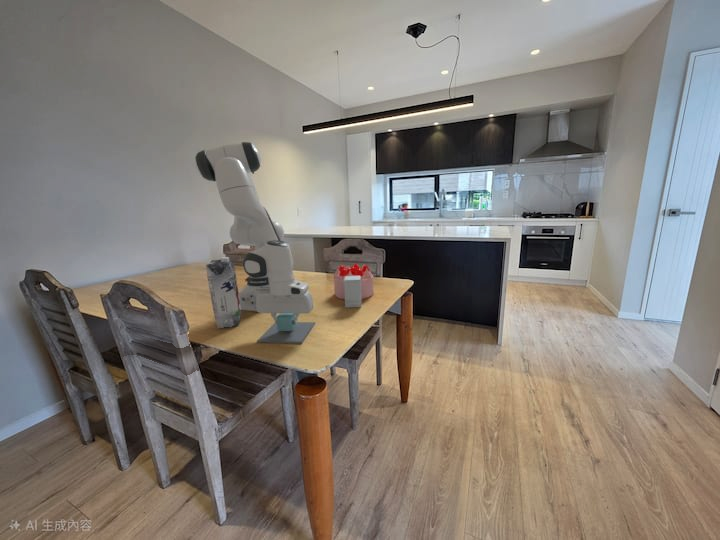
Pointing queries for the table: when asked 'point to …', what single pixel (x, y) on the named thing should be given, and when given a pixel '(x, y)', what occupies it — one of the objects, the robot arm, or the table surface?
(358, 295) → the supplement box
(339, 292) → the cake
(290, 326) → the teal cube
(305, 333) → the charcoal mat
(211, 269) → the juice carton
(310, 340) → the table surface
